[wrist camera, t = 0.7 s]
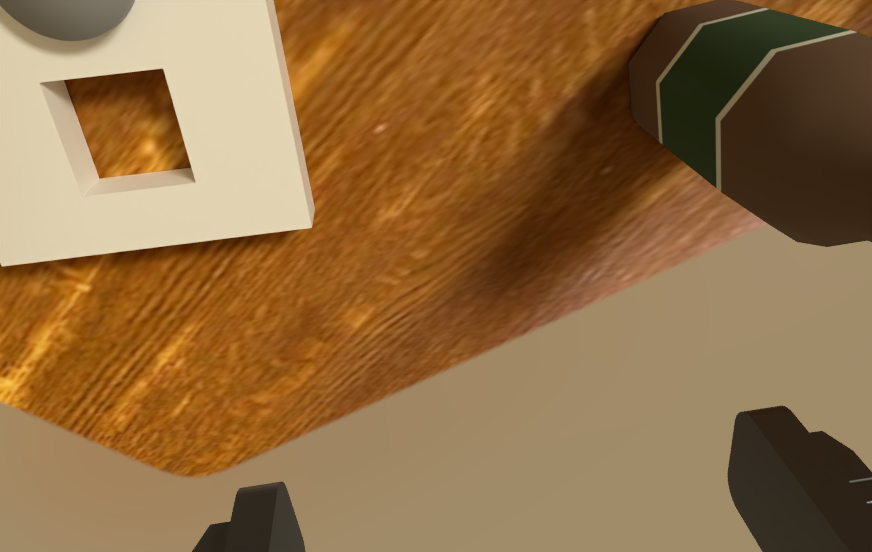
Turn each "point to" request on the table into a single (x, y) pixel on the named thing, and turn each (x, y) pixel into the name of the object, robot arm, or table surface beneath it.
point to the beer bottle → (765, 113)
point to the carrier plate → (196, 112)
